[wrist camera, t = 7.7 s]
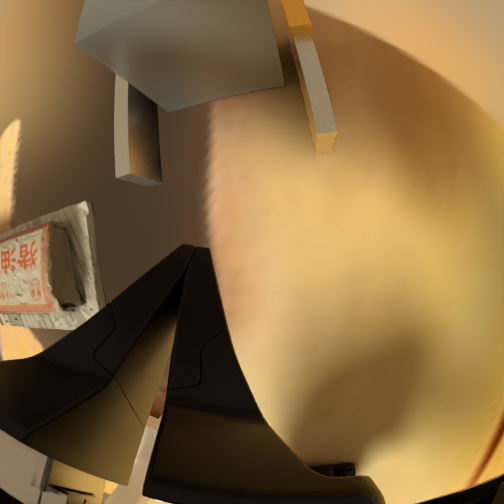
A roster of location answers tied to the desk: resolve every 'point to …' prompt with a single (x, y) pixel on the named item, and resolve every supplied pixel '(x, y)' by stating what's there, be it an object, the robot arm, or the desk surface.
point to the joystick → (138, 469)
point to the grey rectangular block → (184, 47)
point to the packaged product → (51, 270)
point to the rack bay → (146, 116)
